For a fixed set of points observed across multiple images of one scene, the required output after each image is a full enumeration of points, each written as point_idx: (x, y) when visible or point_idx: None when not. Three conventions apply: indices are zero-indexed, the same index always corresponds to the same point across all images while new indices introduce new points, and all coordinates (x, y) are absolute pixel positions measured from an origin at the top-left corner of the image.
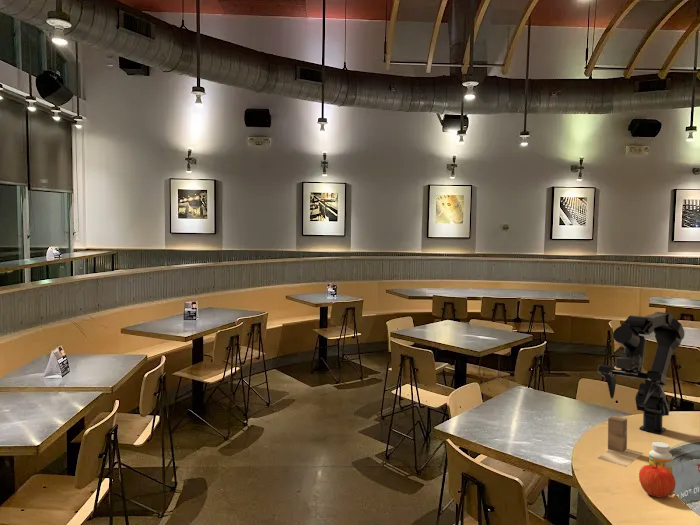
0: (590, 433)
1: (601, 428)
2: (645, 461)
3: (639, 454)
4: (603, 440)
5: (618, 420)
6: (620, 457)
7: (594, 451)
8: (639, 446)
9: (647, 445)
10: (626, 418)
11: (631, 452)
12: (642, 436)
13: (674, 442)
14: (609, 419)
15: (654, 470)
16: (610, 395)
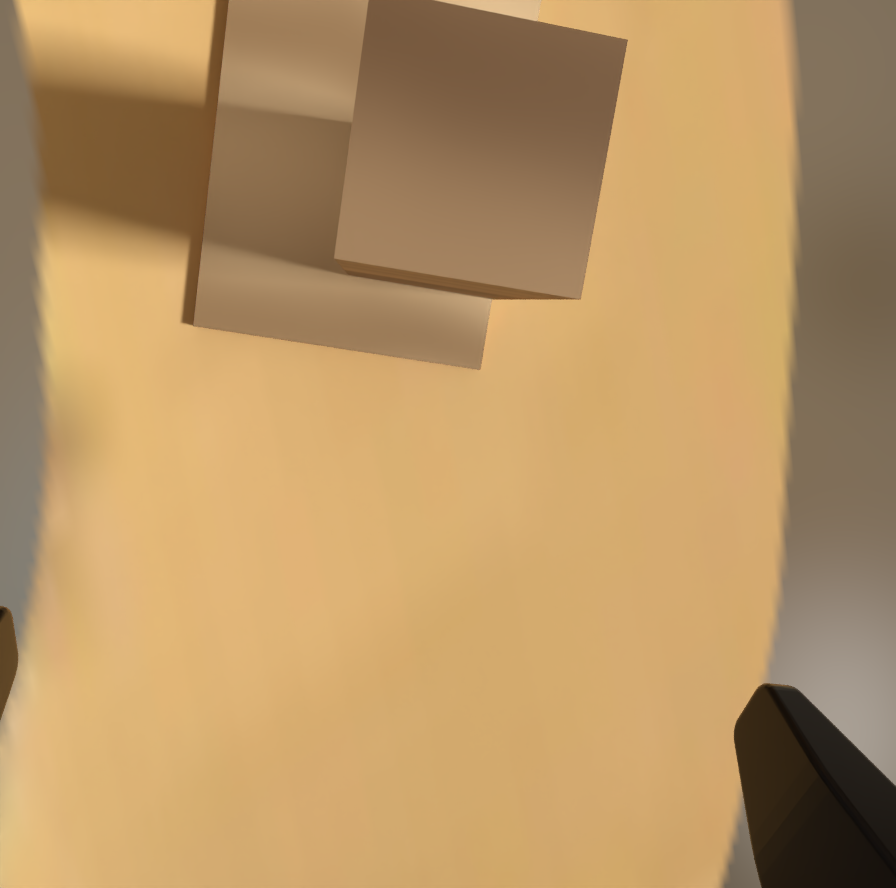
0: (762, 611)
1: (694, 827)
2: (133, 119)
3: (216, 250)
4: (615, 486)
5: (443, 28)
6: (363, 21)
7: (634, 85)
8: (277, 541)
9: (216, 622)
10: (344, 257)
11: (298, 258)
12: (311, 853)
13: (14, 880)
14: (600, 42)
15: None
16: (823, 718)
